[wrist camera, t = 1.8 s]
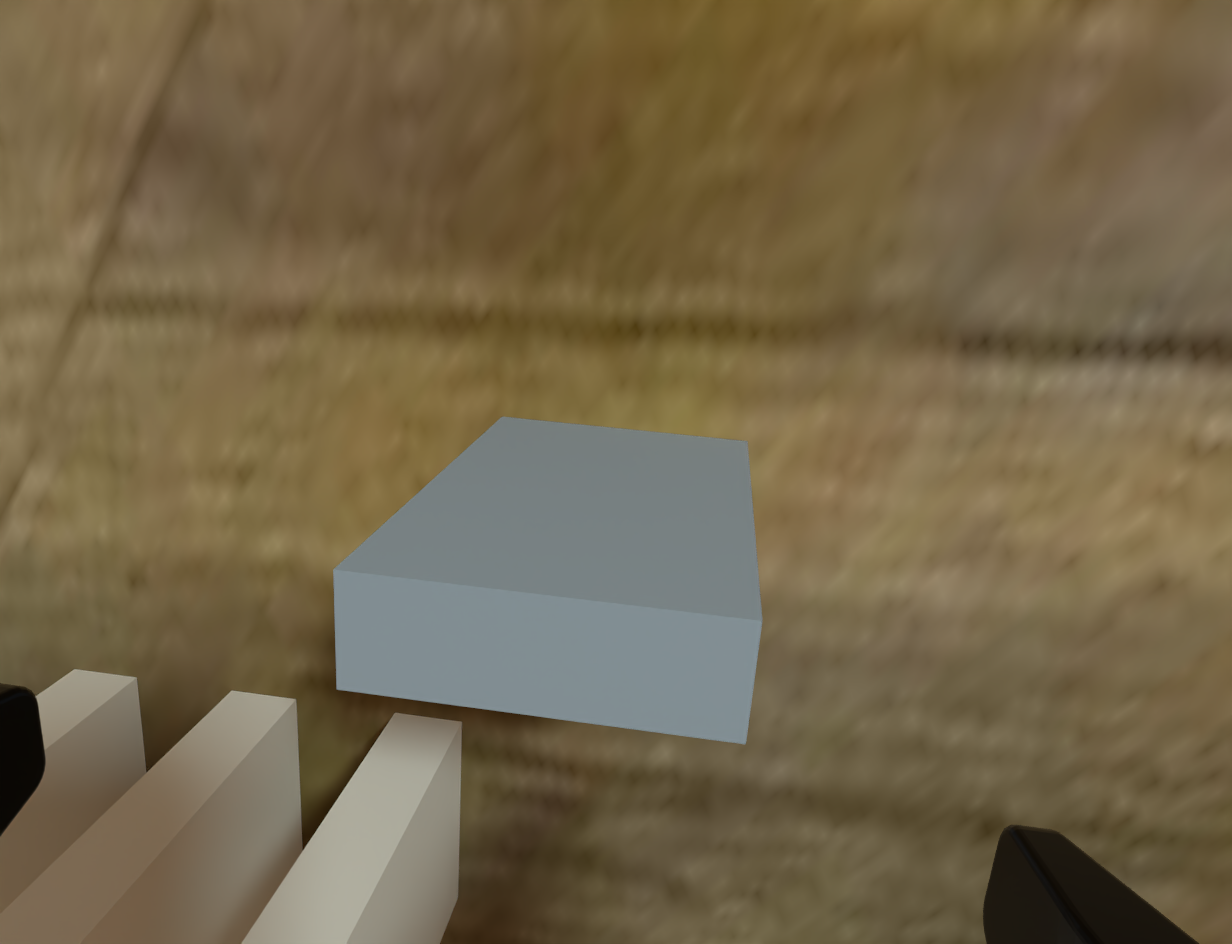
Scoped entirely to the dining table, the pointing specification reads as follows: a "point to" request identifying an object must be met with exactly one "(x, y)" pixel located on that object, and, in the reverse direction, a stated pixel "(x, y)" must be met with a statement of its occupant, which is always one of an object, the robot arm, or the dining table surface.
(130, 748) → the domino
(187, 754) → the domino
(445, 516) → the domino
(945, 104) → the dining table surface
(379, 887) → the domino
